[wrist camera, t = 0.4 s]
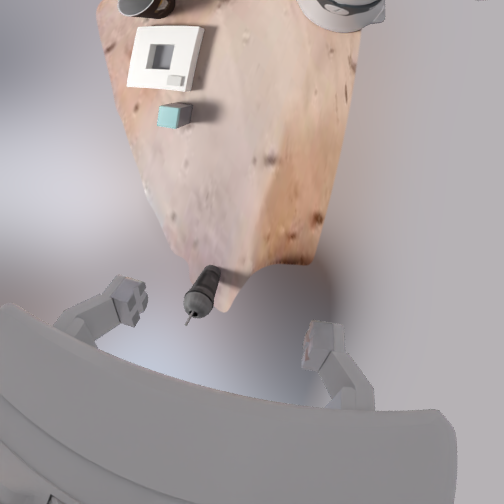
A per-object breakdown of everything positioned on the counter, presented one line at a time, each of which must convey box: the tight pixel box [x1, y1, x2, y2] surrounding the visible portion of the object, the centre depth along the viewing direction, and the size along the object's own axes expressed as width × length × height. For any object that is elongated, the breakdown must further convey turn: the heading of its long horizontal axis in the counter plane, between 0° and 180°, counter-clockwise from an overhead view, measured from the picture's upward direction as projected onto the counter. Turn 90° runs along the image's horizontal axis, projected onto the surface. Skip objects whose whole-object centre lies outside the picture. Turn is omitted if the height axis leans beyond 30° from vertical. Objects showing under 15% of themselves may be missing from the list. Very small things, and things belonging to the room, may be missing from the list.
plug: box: [157, 103, 193, 129], centre depth 47 cm, size 4×4×7 cm
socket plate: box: [127, 26, 205, 91], centre depth 41 cm, size 14×14×4 cm
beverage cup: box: [184, 265, 220, 326], centre depth 64 cm, size 7×7×20 cm
